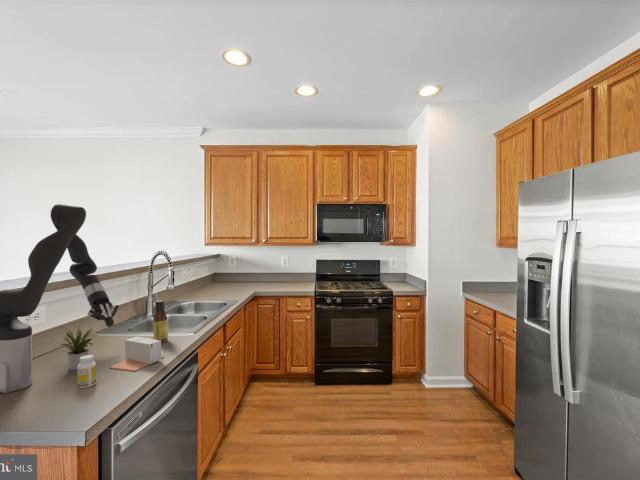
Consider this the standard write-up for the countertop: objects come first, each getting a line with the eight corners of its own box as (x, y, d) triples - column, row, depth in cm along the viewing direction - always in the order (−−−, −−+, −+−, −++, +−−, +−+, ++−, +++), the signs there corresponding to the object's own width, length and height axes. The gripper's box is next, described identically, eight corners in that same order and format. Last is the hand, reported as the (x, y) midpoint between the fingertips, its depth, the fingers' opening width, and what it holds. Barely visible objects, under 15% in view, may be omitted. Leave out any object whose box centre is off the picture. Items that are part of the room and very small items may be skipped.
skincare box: (136, 354, 148) (162, 360, 142) (123, 359, 142) (149, 365, 136) (136, 335, 147) (162, 340, 142) (124, 339, 142) (150, 344, 136)
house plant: (47, 378, 124) (47, 333, 123) (53, 366, 135) (53, 324, 135) (94, 371, 131) (94, 328, 131) (96, 359, 143) (96, 320, 142)
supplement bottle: (92, 380, 123) (93, 353, 122) (98, 384, 119) (98, 356, 119) (75, 385, 118) (75, 357, 118) (80, 389, 115) (80, 360, 115)
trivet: (134, 371, 130) (134, 370, 130) (109, 368, 134) (109, 366, 134) (164, 357, 146) (164, 356, 146) (140, 354, 149) (140, 353, 149)
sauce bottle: (170, 339, 171) (170, 299, 170) (163, 343, 164) (163, 302, 164) (157, 339, 171) (157, 299, 171) (150, 343, 165) (150, 301, 165)
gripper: (83, 292, 150) (98, 323, 144) (114, 288, 162) (129, 317, 156) (77, 302, 153) (91, 334, 147) (108, 298, 165) (122, 327, 159)
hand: (111, 325), depth 152 cm, fingers closed
